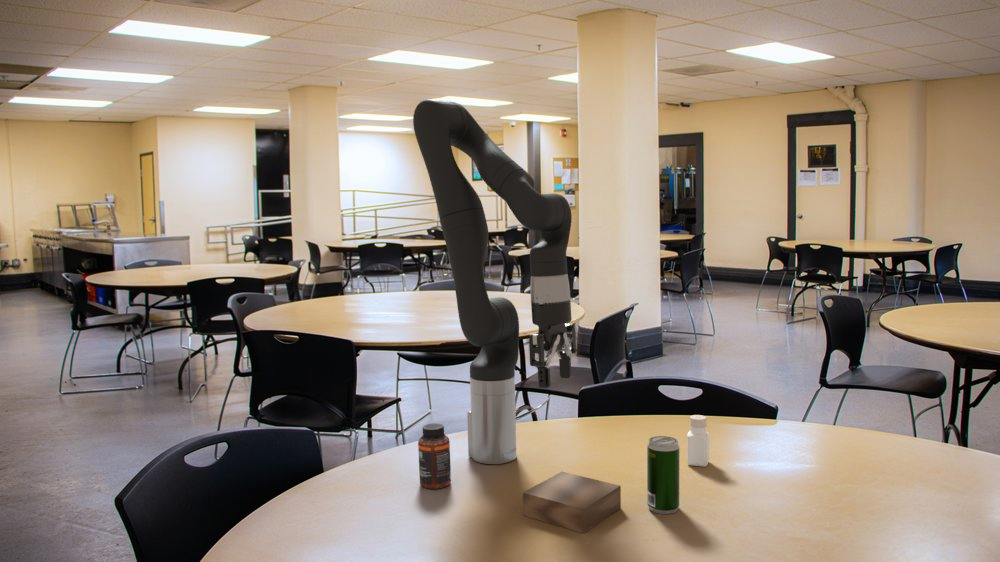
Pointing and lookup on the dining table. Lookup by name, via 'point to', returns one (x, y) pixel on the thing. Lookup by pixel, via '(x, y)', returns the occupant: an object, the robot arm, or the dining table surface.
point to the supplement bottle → (434, 457)
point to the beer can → (663, 474)
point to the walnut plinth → (572, 501)
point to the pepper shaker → (698, 442)
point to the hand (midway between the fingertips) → (555, 382)
